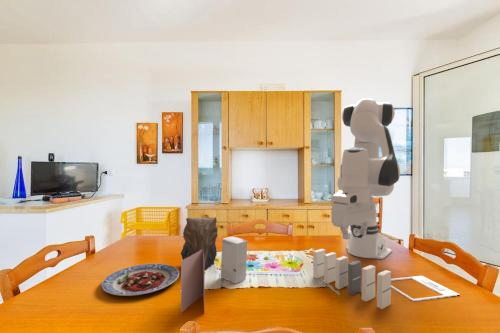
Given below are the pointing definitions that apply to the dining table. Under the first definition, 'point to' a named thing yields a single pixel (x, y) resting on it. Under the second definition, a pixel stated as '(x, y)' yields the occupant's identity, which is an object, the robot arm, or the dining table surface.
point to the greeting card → (192, 279)
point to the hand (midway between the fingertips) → (354, 236)
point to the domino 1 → (318, 263)
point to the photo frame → (429, 284)
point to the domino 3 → (341, 272)
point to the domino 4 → (354, 277)
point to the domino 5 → (368, 283)
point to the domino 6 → (383, 289)
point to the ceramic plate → (140, 279)
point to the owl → (200, 239)
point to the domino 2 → (329, 267)
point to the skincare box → (233, 259)
